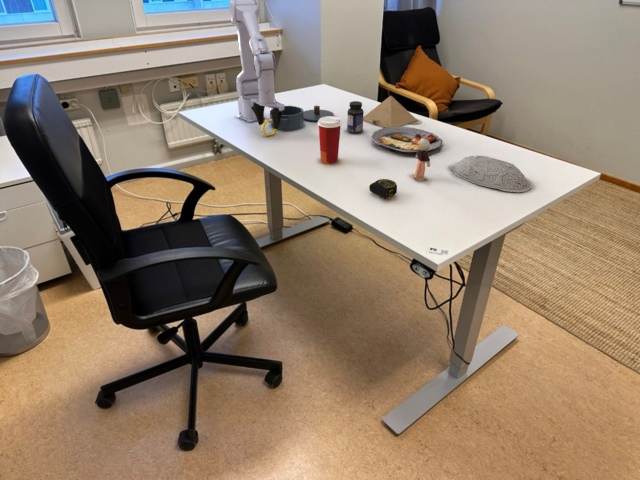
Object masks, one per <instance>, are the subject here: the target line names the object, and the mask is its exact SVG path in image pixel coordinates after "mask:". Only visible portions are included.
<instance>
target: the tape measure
mask: <svg viewBox="0 0 640 480" xmlns="http://www.w3.org/2000/svg"><path fill="white" fill-rule="evenodd" d="M368 189H369V191H370V192H371V193H373V194H374V195H376V196H378V197H379V198H381V199H383V200H387V199H389V198H392V197H395V195H396V194H397V193H398V192H397V191H398V184H397V183H396V182H395V181H394V180H392V179H388V178H379V179H377V180H376V181H374V182H372V183H370V185H368Z"/></svg>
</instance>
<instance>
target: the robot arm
mask: <svg viewBox="0 0 640 480" xmlns="http://www.w3.org/2000/svg"><path fill="white" fill-rule="evenodd" d="M259 16H260V5H259V1H258V0H230V1H229V17H230V21H231V25H233V26H235V27H236V31H237V38H238V39H237V40H238V46H239V55H240V62H241V72H239V74H238V75H237V76H236V79H235V81H236V85H235V86H236V87H235V88H236V92H237V95H238V96H239V97H238V98H237V108H238V115H237V118H239V119H241V120H244V121H246V122H248V123H252V122H256V121H257V124H258V125H259V126H262V124H263V122H265V119H266V116H265V107H266V108H270V109H274V110H272V111H270V110H269V114H270V113H271V115H272V118H273V126H274V129H277V128H279V124H280V120H281V117H282V115H283V113H284V106H285V104H284V103H281V102H279V101H277V99H276V93H275V91H276V90H275V74H274V71H275V70H276V66H277V65H276V63H277V62H276V57H275V54H274V53H273V52H272V50H270V49H269V46H268V43H267V40H266V37H265V36H264V35H263V34H261V31H260V26H259V22H258V20H259ZM274 129H273V130H274Z"/></svg>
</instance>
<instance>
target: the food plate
mask: <svg viewBox="0 0 640 480" xmlns="http://www.w3.org/2000/svg"><path fill="white" fill-rule="evenodd" d="M370 138H371V140H372V141H373V143H375V144H377V145H379V146H383V147H385V148H387V149H391V150H393V151H394V150H395V151H396V152H402V153H409V154H410V153H411V154H412V153H417V152H418V150H420V149H419V145H420V140H421V139H426V140H428V141H429V143H430V145H431V146H430V147H429V148H427V150H426V151H427V153H428V152H431V151H433V150H434V151H435V150H437V149H439V148H441V147H442V146H443V139H442V138H441V137H440V136H438V135H436V134H435V133H433V132H430V131H426V130H424V129H419V128H416V127H409V126H399V127H389V128H386V127H382V128H380V129H377V130H375V131H373V132H372V134H371V136H370Z"/></svg>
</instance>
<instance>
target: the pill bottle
mask: <svg viewBox="0 0 640 480" xmlns="http://www.w3.org/2000/svg"><path fill="white" fill-rule="evenodd" d="M362 107H363V102H362V101H357V100H355V101H354V100H353V101H350V102H349V108H348V109H347V112H346V113H347V119H346V131H347V133H348V134H354V135H355V134H357V135H358V134H362V133H363V130H364V120H363V117H364V109H363V108H362Z"/></svg>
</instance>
